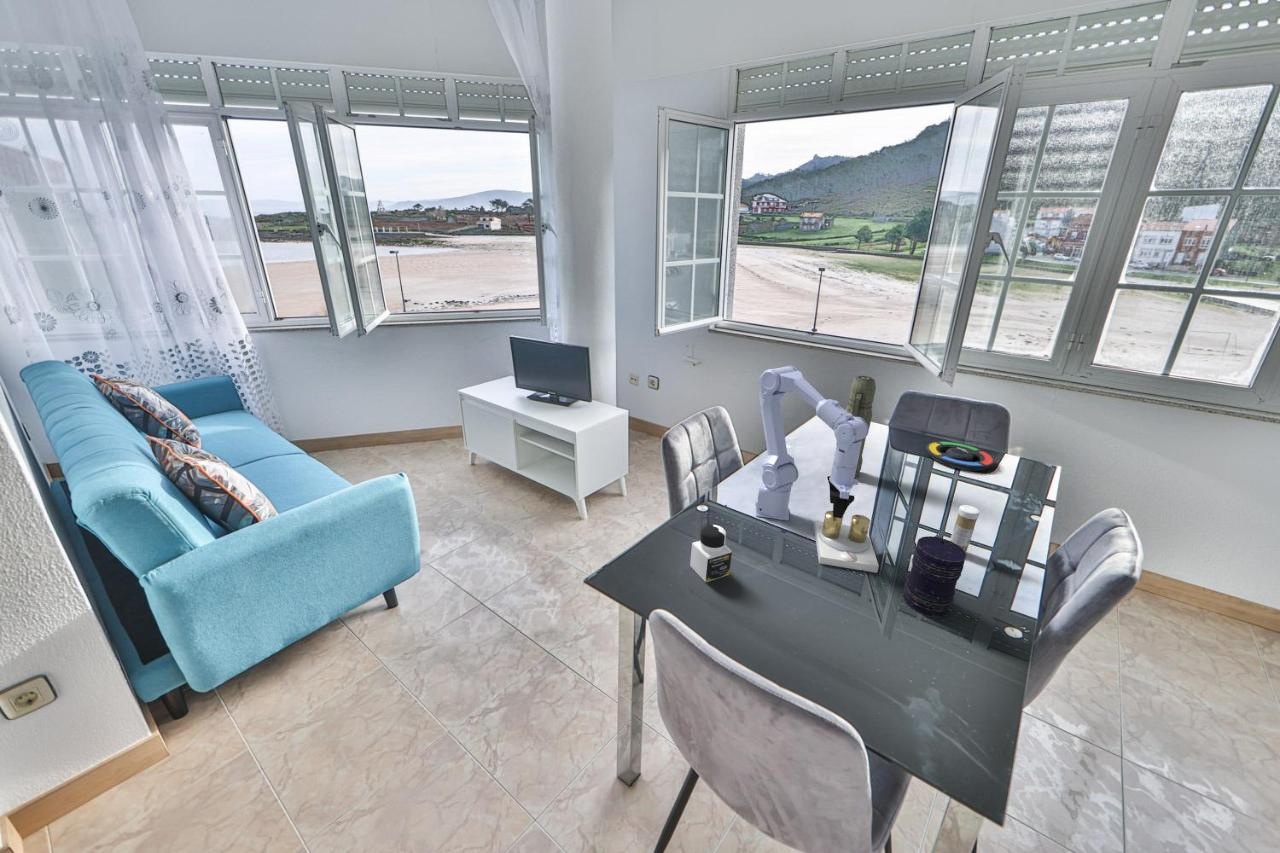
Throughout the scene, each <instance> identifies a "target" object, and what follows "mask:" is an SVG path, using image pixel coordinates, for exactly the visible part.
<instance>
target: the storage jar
mask: <svg viewBox="0 0 1280 853" xmlns="http://www.w3.org/2000/svg"><path fill="white" fill-rule="evenodd" d="M912 556H913V557H912V558H911V564H912V566H911V568H910V572H909V574H908V575H907V579H906V581H905V584H904V591H903V594H902V599H903V601H904V604H906V605H907V606H908V607H909V608H910V609H912V611H913V612H914V611H915V612H916V613H918V614H920V615H923V616H926V617H930V618H944V617H946V616H947V615H948V614H949V613H950V608H951V606H952V604H953V602H954V600H955V599H954V597H955V593H956V586H957V583H958V581H959V579H960V578H961V576H962V572H963V569H964V566H965V561H966V558H967V552H966V553H965V551H964V550H963V549H962V548H961V547H960V546H958V545H957V544H955V543H953V542H951V541H950V540H948V539H946V538H943V537H939V536H927V535H926V536H922V537H920V538H919V539H918V540H917V542H916V547H915V549H914V551H913V555H912Z"/></svg>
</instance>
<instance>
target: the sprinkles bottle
mask: <svg viewBox="0 0 1280 853" xmlns="http://www.w3.org/2000/svg"><path fill="white" fill-rule="evenodd" d="M979 516H980V510H979V509H978V508H976V507H975V506H971V505H969V504H968V505H967V504H966V505H965V504H963V505H960V506H959V509H958V511H957V518H956V520H955V524H954V527H953V529H952V533H951V536H950V540H949V541H951V542H953V543H955V544H957V545H958V546H960V547H961V548H962V549H963V550H964V551H965V553H966V554H967V551H968V548H969V546H970V543H971V540H972V537H973V534H974V531H975V526H976V522H977V520H978V518H979Z"/></svg>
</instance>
